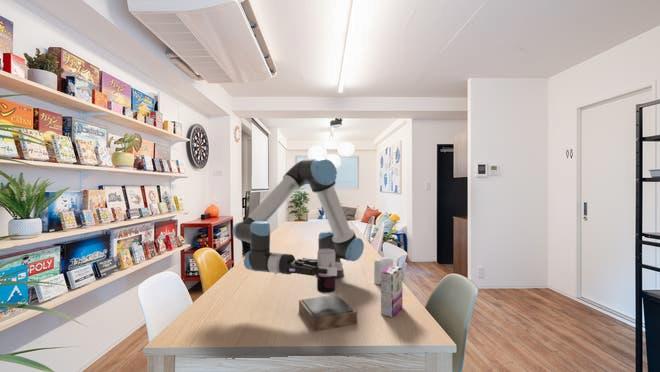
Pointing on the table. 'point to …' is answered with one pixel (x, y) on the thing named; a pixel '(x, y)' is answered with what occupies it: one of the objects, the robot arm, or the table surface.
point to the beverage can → (326, 281)
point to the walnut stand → (327, 312)
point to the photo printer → (381, 268)
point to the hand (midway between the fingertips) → (339, 269)
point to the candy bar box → (391, 290)
